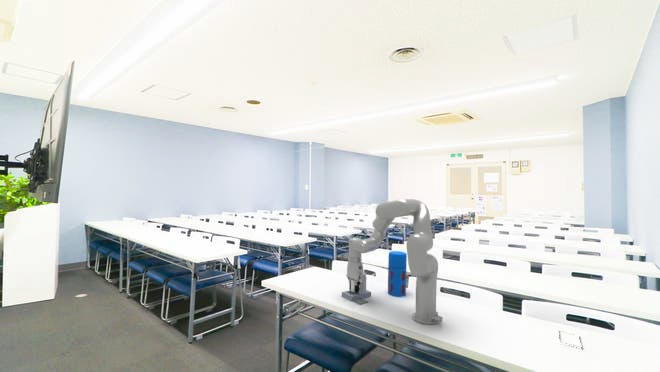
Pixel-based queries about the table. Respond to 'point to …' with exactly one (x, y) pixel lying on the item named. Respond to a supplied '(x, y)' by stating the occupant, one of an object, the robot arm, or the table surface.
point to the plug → (353, 287)
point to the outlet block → (361, 294)
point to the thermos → (397, 273)
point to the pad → (360, 301)
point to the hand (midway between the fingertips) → (354, 290)
